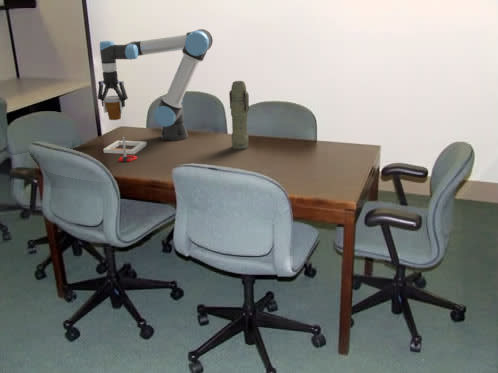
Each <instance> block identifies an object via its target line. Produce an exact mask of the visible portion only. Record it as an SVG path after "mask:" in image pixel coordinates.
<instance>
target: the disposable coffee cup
mask: <svg viewBox="0 0 498 373" xmlns="http://www.w3.org/2000/svg"><path fill="white" fill-rule="evenodd" d="M104 101H105V104H106V108H107V112H106V113H107V114H108V119H109V120H110V121H118V120H121V118H122V113H121V110H120V101H121V100H120V98H119V96H118V95H106V97H105V99H104Z"/></svg>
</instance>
